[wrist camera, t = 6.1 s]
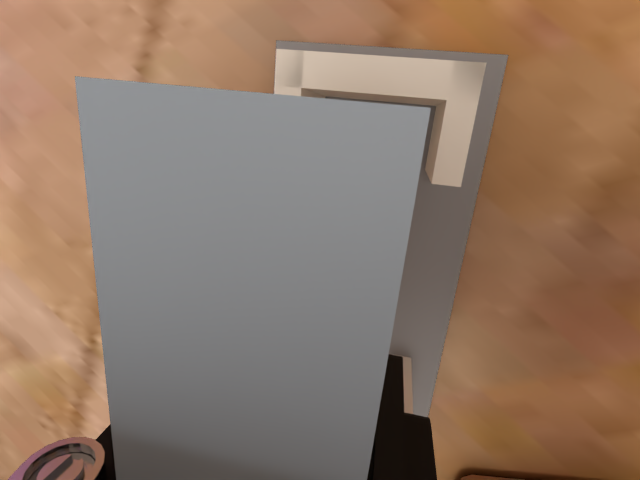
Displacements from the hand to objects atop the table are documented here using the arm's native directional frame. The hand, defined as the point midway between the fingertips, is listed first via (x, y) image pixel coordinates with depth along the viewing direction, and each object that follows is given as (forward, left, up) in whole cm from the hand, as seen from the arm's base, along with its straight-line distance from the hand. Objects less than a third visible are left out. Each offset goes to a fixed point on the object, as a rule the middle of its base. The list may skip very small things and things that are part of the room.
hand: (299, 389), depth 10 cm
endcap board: (0, 0, -11) cm, 11 cm away
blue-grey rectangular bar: (0, 0, 0) cm, 0 cm away
